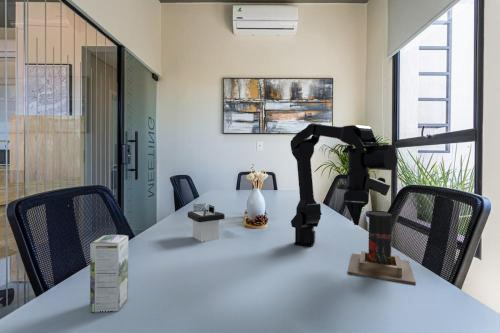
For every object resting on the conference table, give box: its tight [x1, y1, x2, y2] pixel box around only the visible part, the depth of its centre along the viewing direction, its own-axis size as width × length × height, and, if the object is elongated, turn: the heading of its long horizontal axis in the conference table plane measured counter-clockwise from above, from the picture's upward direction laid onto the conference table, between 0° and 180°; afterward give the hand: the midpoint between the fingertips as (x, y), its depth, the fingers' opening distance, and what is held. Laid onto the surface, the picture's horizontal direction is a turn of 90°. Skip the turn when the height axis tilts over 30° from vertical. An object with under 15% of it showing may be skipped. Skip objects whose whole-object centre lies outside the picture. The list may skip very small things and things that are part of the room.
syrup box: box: [89, 234, 129, 313], centre depth 60 cm, size 6×6×14 cm
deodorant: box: [367, 211, 393, 265], centre depth 81 cm, size 6×6×15 cm
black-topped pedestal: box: [187, 203, 226, 243], centre depth 111 cm, size 28×26×13 cm
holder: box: [347, 250, 417, 285], centre depth 81 cm, size 16×16×3 cm
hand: (357, 221), depth 83 cm, fingers open, 9 cm apart
